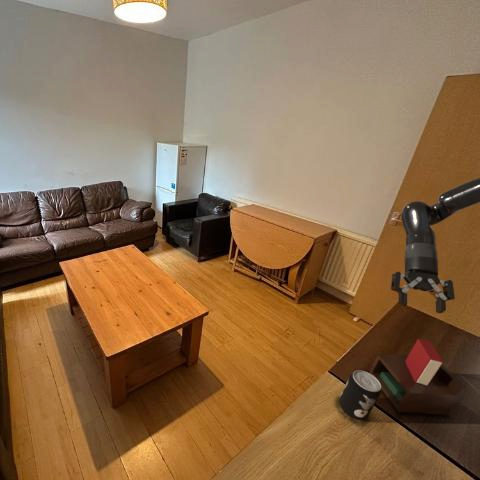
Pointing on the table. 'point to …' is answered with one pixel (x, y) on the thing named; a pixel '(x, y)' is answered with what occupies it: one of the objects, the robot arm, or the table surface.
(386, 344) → the table surface
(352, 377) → the beverage can
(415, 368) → the book
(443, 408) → the bookshelf
